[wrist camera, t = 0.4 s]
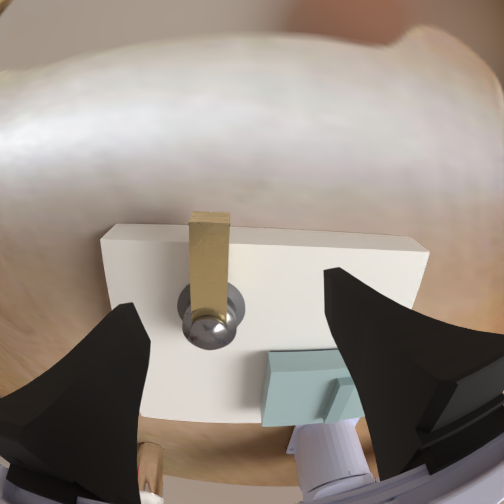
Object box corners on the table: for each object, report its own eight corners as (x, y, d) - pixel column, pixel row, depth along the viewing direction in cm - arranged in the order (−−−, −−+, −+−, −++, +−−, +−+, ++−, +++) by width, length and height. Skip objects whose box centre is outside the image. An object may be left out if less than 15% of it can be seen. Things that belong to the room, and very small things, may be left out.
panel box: (355, 392, 28) (364, 414, 26) (147, 393, 27) (141, 417, 24) (409, 236, 21) (431, 253, 18) (116, 223, 19) (98, 240, 16)
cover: (374, 398, 24) (384, 419, 22) (259, 408, 23) (262, 434, 21) (400, 343, 21) (415, 366, 19) (268, 352, 20) (272, 380, 18)
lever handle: (235, 332, 19) (235, 357, 17) (187, 330, 19) (182, 354, 17) (241, 213, 16) (242, 227, 14) (182, 211, 16) (174, 225, 14)
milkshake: (126, 445, 31) (115, 505, 22) (148, 436, 30) (137, 503, 21) (153, 458, 33) (145, 516, 24) (175, 450, 32) (170, 514, 23)
